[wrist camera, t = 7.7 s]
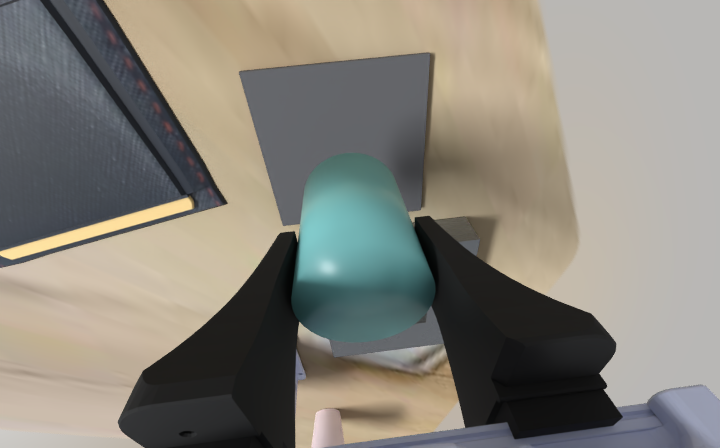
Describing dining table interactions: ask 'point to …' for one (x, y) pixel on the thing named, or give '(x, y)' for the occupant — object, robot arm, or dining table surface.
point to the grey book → (84, 134)
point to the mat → (340, 121)
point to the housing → (427, 326)
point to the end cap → (358, 254)
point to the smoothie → (327, 429)
